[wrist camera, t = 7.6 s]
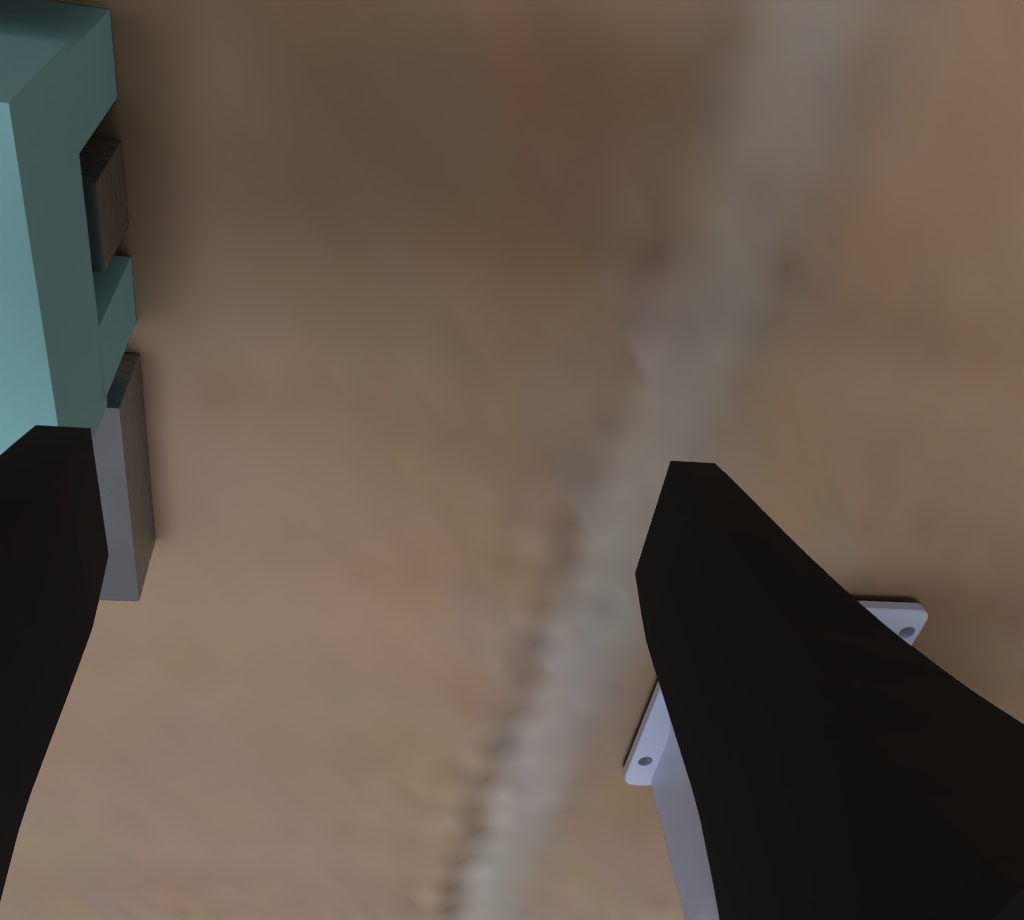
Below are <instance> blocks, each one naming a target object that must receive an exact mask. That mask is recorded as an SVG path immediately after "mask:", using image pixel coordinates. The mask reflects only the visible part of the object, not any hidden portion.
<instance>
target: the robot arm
mask: <svg viewBox="0 0 1024 920" xmlns="http://www.w3.org/2000/svg"><path fill="white" fill-rule="evenodd" d="M108 556H109V553H108V546H107V539H106V532H105V525H104V518H103V511H102V504H101V497H100V490H99V483H98V476H97V469H96V463H95V456H94V449H93V442H92V435H91V428H80V427H62V426H45V425H35V426H34V427H33V428H32V429H30V430H29V431H28V432H27V433H25V434H24V435H23V436H22V437H21V438H19V439H18V440H17V441H16V442H15V443H13V444H12V445H11V446H10V447H9V448H8V449H7V450H5V451H4V452H3V453H2V454H1V455H0V900H1V896H2V893H3V889H4V885H5V881H6V877H7V873H8V869H9V866H10V862H11V858H12V854H13V850H14V846H15V842H16V839H17V835H18V831H19V828H20V825H21V822H22V819H23V815H24V812H25V809H26V806H27V803H28V800H29V797H30V794H31V791H32V788H33V786H34V783H35V781H36V778H37V775H38V773H39V770H40V767H41V765H42V762H43V759H44V757H45V754H46V751H47V749H48V746H49V743H50V741H51V738H52V735H53V733H54V730H55V727H56V725H57V722H58V720H59V717H60V714H61V712H62V709H63V706H64V704H65V701H66V698H67V696H68V693H69V690H70V688H71V685H72V682H73V680H74V677H75V674H76V671H77V669H78V666H79V663H80V661H81V658H82V655H83V653H84V650H85V647H86V644H87V642H88V639H89V636H90V633H91V630H92V627H93V623H94V619H95V615H96V610H97V606H98V602H99V598H100V593H101V589H102V584H103V579H104V575H105V570H106V565H107V561H108ZM635 575H636V582H637V588H638V595H639V602H640V608H641V614H642V620H643V625H644V631H645V637H646V641H647V645H648V648H649V652H650V655H651V659H652V662H653V665H654V669H655V672H656V675H657V678H658V683H657V685H656V688H655V690H654V693H653V695H652V698H651V700H650V703H649V705H648V708H647V711H646V713H645V716H644V718H643V721H642V723H641V726H640V728H639V731H638V733H637V736H636V738H635V741H634V743H633V746H632V748H631V751H630V753H629V756H628V758H627V761H626V763H625V766H624V769H623V775H624V779H625V781H626V783H628V784H631V785H651V787H652V791H653V795H654V799H655V803H656V807H657V811H658V815H659V819H660V823H661V827H662V831H663V835H664V839H665V843H666V847H667V851H668V855H669V859H670V863H671V867H672V870H673V874H674V878H675V882H676V886H677V890H678V894H679V898H680V902H681V906H682V910H683V914H684V918H685V920H1024V724H1022V723H1021V722H1019V721H1018V720H1016V719H1014V718H1013V717H1011V716H1010V715H1008V714H1007V713H1005V712H1004V711H1002V710H1001V709H999V708H998V707H996V706H994V705H993V704H991V703H990V702H988V701H987V700H985V699H984V698H982V697H981V696H979V695H978V694H976V693H975V692H973V691H972V690H971V689H969V688H968V687H966V686H965V685H963V684H962V683H961V682H959V681H958V680H956V679H955V678H953V677H952V676H951V675H949V674H948V673H947V672H945V671H944V670H943V669H941V668H940V667H939V666H937V665H936V664H935V663H933V662H932V661H931V660H929V659H928V658H927V657H925V656H924V655H923V654H922V653H920V652H919V651H918V650H916V649H915V648H914V647H912V644H913V642H914V641H915V639H916V637H917V636H918V634H919V633H920V631H921V629H922V628H923V626H924V625H925V623H926V621H927V619H928V614H927V612H926V610H925V609H924V607H923V606H922V605H921V604H918V603H906V602H879V601H857V600H856V599H855V598H854V597H852V596H851V595H850V594H849V593H848V592H847V591H846V590H845V589H843V588H842V587H841V586H840V585H839V584H838V583H837V582H836V581H835V580H834V579H833V578H831V577H830V576H829V575H828V574H827V573H826V572H825V571H824V570H823V569H822V568H821V567H820V566H819V565H818V564H817V563H816V562H814V561H813V560H812V559H811V558H810V557H809V556H808V555H807V554H806V553H805V552H804V551H803V550H802V549H801V548H800V547H799V546H798V545H797V544H796V543H795V542H794V541H793V540H792V539H791V538H790V537H789V536H788V535H787V534H786V533H785V532H784V531H783V530H782V529H781V528H780V527H779V526H778V525H777V524H776V523H775V522H774V521H773V520H772V519H771V518H770V517H769V516H768V515H767V514H766V513H765V512H764V511H763V510H762V509H761V508H760V507H759V506H758V505H757V504H756V503H755V502H754V501H753V500H752V499H751V498H750V497H749V496H748V495H747V494H746V493H745V492H744V491H743V490H742V489H741V488H740V487H739V486H738V485H737V484H736V483H735V482H734V481H733V480H732V479H731V478H730V477H729V476H728V475H727V474H726V473H725V472H724V471H722V470H721V469H720V468H719V467H718V466H717V465H716V464H715V463H700V462H682V461H671V462H670V465H669V468H668V471H667V474H666V477H665V480H664V484H663V487H662V490H661V493H660V496H659V499H658V503H657V506H656V509H655V512H654V515H653V518H652V522H651V525H650V528H649V531H648V534H647V537H646V540H645V544H644V547H643V550H642V553H641V556H640V559H639V563H638V566H637V569H636V572H635Z"/></svg>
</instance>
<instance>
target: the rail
mask: <svg viewBox="0 0 1024 920" xmlns="http://www.w3.org/2000/svg"><path fill="white" fill-rule="evenodd" d="M79 157H80V166H81V175H82V184H83V193H84V202H85V211H86V220H87V228H88V237H89V246H90V255H91V264H92V272H100V273H105V272H106V270H107V268H108V266H109V264H110V262H111V260H112V258H113V256H114V254H115V251H116V249H117V247H118V245H119V243H120V241H121V239H122V237H123V235H124V233H125V231H126V229H127V227H128V225H129V224H128V213H127V201H126V189H125V177H124V165H123V153H122V141H120V140H112V139H103V138H95V137H90V138H89V140H88V141H87V143H86V144H85V146H84V147H83V149H82V150H81V151H80V153H79ZM106 398H107V407H106V409H105V412H104V414H103V417H102V420H101V422H100V425H99V427H98V430H97V432H96V435H95V437H94V440H93V449H94V456H95V463H96V469H97V476H98V483H99V490H100V497H101V504H102V511H103V518H104V525H105V532H106V539H107V546H108V553H109V556H108V561H107V565H106V570H105V575H104V579H103V584H102V589H101V593H100V598H99V600H113V601H139V599H140V596H141V592H142V588H143V585H144V581H145V577H146V573H147V570H148V566H149V562H150V559H151V555H152V551H153V548H154V544H155V533H154V521H153V509H152V498H151V486H150V474H149V462H148V450H147V438H146V426H145V414H144V403H143V391H142V379H141V367H140V355H139V354H132V353H124V354H123V356H122V359H121V361H120V364H119V366H118V369H117V371H116V374H115V376H114V379H113V381H112V384H111V386H110V389H109V391H108V394H107V396H106Z"/></svg>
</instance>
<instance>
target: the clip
mask: <svg viewBox="0 0 1024 920" xmlns="http://www.w3.org/2000/svg"><path fill="white" fill-rule="evenodd" d="M116 99H117V88H116V76H115V64H114V52H113V41H112V29H111V17H110V10H109V9H102V8H95V7H88V6H81V5H74V4H67V3H60V2H53V1H46V0H0V455H1V454H2V453H3V452H4V451H5V450H7V449H8V448H9V447H10V446H11V445H12V444H13V443H15V442H16V441H17V440H18V439H19V438H21V437H22V436H23V435H24V434H25V433H27V432H28V431H29V430H30V429H32V428H33V427H34V426H35V425H45V426H62V427H80V428H91V435H92V442H93V440H94V437H95V435H96V432H97V430H98V427H99V425H100V422H101V420H102V417H103V414H104V412H105V409H106V407H107V398H106V396H107V394H108V391H109V389H110V386H111V384H112V381H113V379H114V376H115V374H116V371H117V369H118V366H119V364H120V361H121V359H122V356H123V354H124V351H125V349H126V346H127V344H128V341H129V339H130V336H131V334H132V331H133V329H134V326H135V324H136V313H135V301H134V289H133V277H132V265H131V257H123V256H113V258H112V260H111V262H110V264H109V266H108V268H107V270H106V272H105V273H100V272H92V264H91V255H90V246H89V237H88V228H87V220H86V211H85V202H84V193H83V184H82V175H81V166H80V157H79V153H80V151H81V150H82V149H83V147H84V146H85V144H86V143H87V141H88V140H89V138H90V137H91V135H92V134H93V132H94V131H95V130H96V128H97V127H98V125H99V124H100V122H101V121H102V119H103V118H104V116H105V115H106V113H107V112H108V110H109V109H110V108H111V106H112V105H113V103H114V102H115V100H116Z"/></svg>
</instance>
